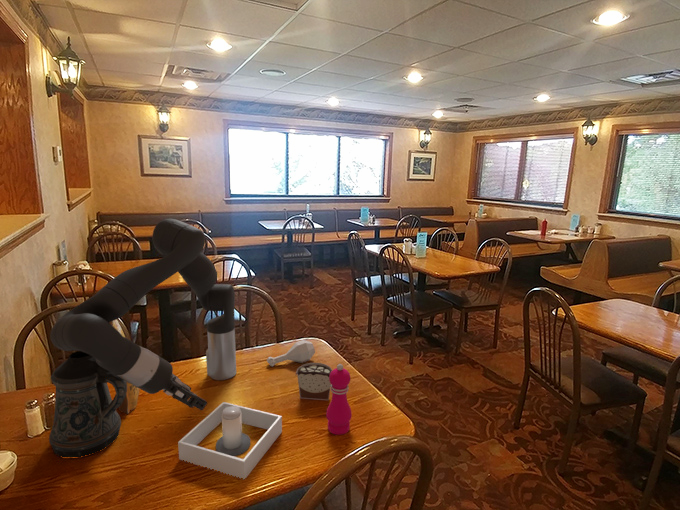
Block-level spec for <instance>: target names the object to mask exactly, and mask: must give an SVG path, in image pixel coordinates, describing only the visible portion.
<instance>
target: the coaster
mask: <svg viewBox="0 0 680 510" xmlns="http://www.w3.org/2000/svg"><path fill="white" fill-rule="evenodd" d="M250 446H251V438H250V436H249V435H248V434H246V433H244V432H242V444H241V445H240V446H239V447H237V448H235V449H227V448H225V447H224V446H223V435H222V436H220V437H219V438H218V440H216V443H215V449H216V450H215V451H217V452H220V453H223V454H227V455H230V456H234V457H237V456H239V455H242V454H243V453H246V451H248V450H249V448H250Z"/></svg>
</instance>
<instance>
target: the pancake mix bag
mask: <svg viewBox="0 0 680 510" xmlns="http://www.w3.org/2000/svg"><path fill="white" fill-rule="evenodd" d="M109 323H110V324H111V325H112V326H113V327H114V328H115V329H116V330H117V331H119V333H120V334H121V335H122V336H123V337H125V338H126V336H125V334H124V331H123V329H122V326H121V325H120V322H119V321H118V319H116V320H113V321H111V322H109ZM140 390H141V389H140V388H138V387H136V386H134V385H132V384H130V383H128V382H127V393H126V396H125V399H124V400H123V402H122V404H121V405H120V406H119V407H118V410H119V412H121V411H122V412H121V413H123V412H124V414H129V413H130V412H131V411H133V410H135V409H136V407H137V404H138V399H139V394H140ZM130 410H131V411H130Z"/></svg>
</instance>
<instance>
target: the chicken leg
mask: <svg viewBox="0 0 680 510" xmlns="http://www.w3.org/2000/svg"><path fill="white" fill-rule="evenodd" d="M315 353H316V350H315V346H314V344H313V342H311V341H309V340H306V339H302V340H299V341H295V343H294V344H293V345H292V346H291V347H290V349H288V351H286V353H284V354H280V355H278V356H275V357H272V356H268V357H267V358H266V361H267V362H266V363H268V364H269V366H270V367H272V368H273V367H275V365H276V364H279V363H282V362H284V361H288V360H289V361H292V362H297V363H300V364H303V363H306V362H308V361H311V359H312V357H313V356H314V355H315Z"/></svg>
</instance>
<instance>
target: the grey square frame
mask: <svg viewBox="0 0 680 510" xmlns="http://www.w3.org/2000/svg"><path fill="white" fill-rule="evenodd" d="M230 406H236V407H239V408H240V411H241V419H242V424H244V425H248V426H253V427H255V428H256V427H257V428H260V429H264V430H267V431H265V433H264V434H263V435H262V436H261V437H260V439H259V440H258V441H257V442H256V444H255V445H253V446H252V448H251V450H250V451H248V452H247V454H246V455H245V457H243V458H240V457H237V456H230V455H227V454H223V453H220V452H217V451H216V450H213V449H210V448H209V449H208V448H207V447H203V446H199V444H200V443H201V442H202V441H203V440H204V439H205V438H206V437H207V436H208V435H209V434H210V433H211V432H212V431H213V430H214V429H215V428H217V427H218V426H219V425H220V423H221V424H222V412H223V410H224V409H225V408H227V407H230ZM282 432H283V416H282V415H278V414H275V413H271V412H267V411H262V410H259V409H254V408H250V407H245V406H242V405H237V404H233V403H230V402H226V401H223V402H222V403H220V404H219V405H217V407H216V408H215V409H214V410H213V411H211V412H210V413H209V414H208V415H206V417H205V418H204V419H202V420H201V421H200V422H199V423H198V424H197V425H196V426H194V427H193V428H192V429H191V430H189V432H188V433H186V434H185V435H184V436H183V437H182V438H181V439H180V440H179V441H178V442H177V443H178V444H177V446H178V459H179V460H180V461H183V460H184V461H183V462H186V461H187V462H186V463H189V462H190V463H189V464H192V463H193V465H195V466H199V465H200V466H199V467H202V466H203V467H202V468H205V467H207V468H206V469H209V468H210V469H209V470H212V469H214V470H213V471H215V470H217V471H216V472H218V471H220V472H219V473H222V472H223V473H222V474H225V473H226V474H225V475H228V474H229V475H228V476H231V475H232V476H231V477H235V476H236V477H235V478H238V477H239V478H238V479H241V478H243V479H242V480H244V479H245V478H246V479H247V477H248V476H249V475H250V474H251V472H253V470H254V468H256V466H257V464H258V463H260V461H261V460H262V458H263V457H264V455H265V454H266V453H267V452H268V450H270V448H271V447H272V445H273V444H274V442H275V441H276V440H277V439H278V438H279V436H280V435H281V434H282ZM246 479H245V480H246Z"/></svg>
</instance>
